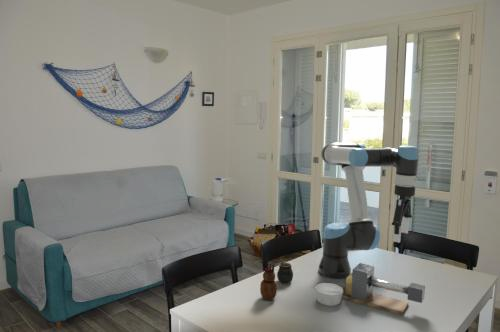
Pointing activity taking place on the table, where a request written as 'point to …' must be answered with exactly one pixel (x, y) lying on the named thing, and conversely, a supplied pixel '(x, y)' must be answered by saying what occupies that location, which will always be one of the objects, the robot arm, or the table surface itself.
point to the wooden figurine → (268, 284)
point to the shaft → (401, 289)
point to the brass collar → (349, 284)
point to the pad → (345, 293)
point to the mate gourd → (285, 273)
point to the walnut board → (382, 303)
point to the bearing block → (362, 282)
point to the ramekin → (328, 294)
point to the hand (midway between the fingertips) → (400, 237)
